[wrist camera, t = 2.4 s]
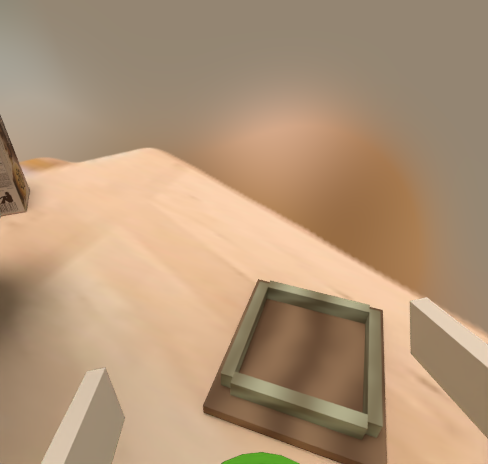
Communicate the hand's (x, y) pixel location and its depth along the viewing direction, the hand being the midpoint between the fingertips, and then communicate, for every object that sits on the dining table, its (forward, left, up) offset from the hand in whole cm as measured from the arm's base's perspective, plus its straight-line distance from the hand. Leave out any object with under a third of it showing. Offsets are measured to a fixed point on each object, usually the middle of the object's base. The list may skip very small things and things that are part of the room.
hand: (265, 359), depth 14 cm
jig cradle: (+2, +15, -19) cm, 24 cm away
